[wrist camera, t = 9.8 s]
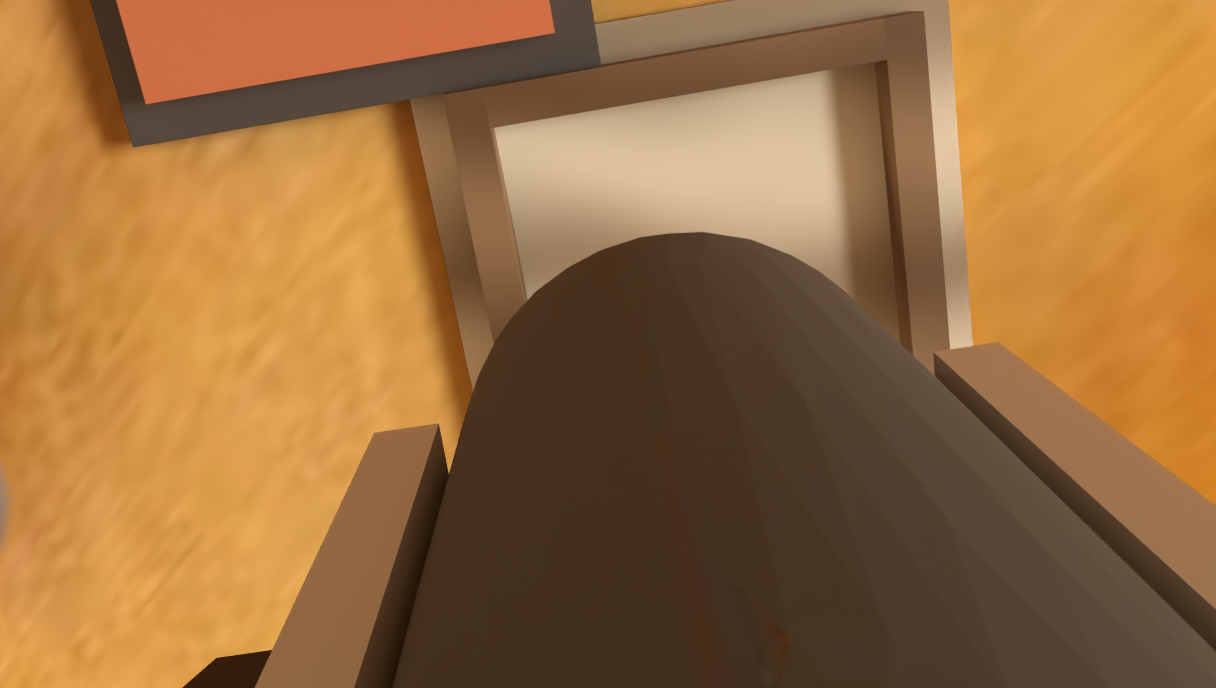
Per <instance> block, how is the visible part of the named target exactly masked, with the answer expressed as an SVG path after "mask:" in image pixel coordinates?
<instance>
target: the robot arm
mask: <svg viewBox="0 0 1216 688" xmlns="http://www.w3.org/2000/svg"><path fill="white" fill-rule="evenodd" d="M933 355H934V372H935V377H936V378H937V379H938V380H939V381H940V382H941V383H942V384H943V385H944V386H945V387H946V388H947V389H948V390H950V391H951V392H952V393H953V394H954V395H955V396H956V397H957V398H958V399H959V400H960V401H961V402H962V403H963V404H964V405H965V406H966V407H967V408H968V409H969V410H970V411H971V412H972V413H973V414H974V415H975V416H976V417H977V418H978V419H979V420H980V421H981V422H982V423H983V424H984V425H985V426H986V427H987V428H988V429H989V430H990V431H991V432H993V433H994V434H995V435H996V436H997V437H998V438H999V439H1000V440H1001V441H1002V442H1003V443H1004V444H1005V445H1006V446H1007V447H1008V448H1009V449H1010V450H1011V451H1012V452H1013V453H1014V454H1015V455H1016V456H1017V457H1018V458H1019V459H1020V460H1021V461H1022V462H1023V463H1024V464H1025V465H1026V466H1027V467H1028V468H1029V469H1030V470H1031V471H1032V472H1033V473H1034V474H1035V475H1037V476H1038V477H1039V478H1040V479H1041V480H1042V481H1043V482H1044V483H1045V484H1046V485H1047V486H1048V487H1049V488H1050V489H1051V490H1052V491H1053V492H1054V493H1055V494H1056V495H1057V496H1058V497H1059V498H1060V499H1061V500H1062V501H1063V502H1064V503H1065V504H1066V505H1067V506H1068V507H1069V508H1070V509H1071V510H1072V511H1073V512H1074V513H1075V514H1076V515H1077V516H1078V517H1080V518H1081V519H1082V520H1083V521H1084V522H1085V523H1086V524H1087V525H1088V526H1089V527H1090V528H1091V529H1092V530H1093V531H1094V532H1095V533H1096V534H1097V535H1098V536H1099V537H1100V538H1101V539H1102V540H1103V541H1104V542H1105V543H1106V544H1107V545H1108V546H1109V547H1110V548H1111V549H1112V550H1113V551H1114V552H1115V553H1116V554H1117V555H1118V556H1119V557H1120V558H1121V559H1122V560H1124V561H1125V562H1126V563H1127V564H1128V565H1129V566H1130V567H1131V568H1132V569H1133V570H1134V571H1135V572H1136V573H1137V574H1138V575H1139V576H1140V577H1141V578H1142V579H1143V580H1144V581H1145V582H1146V583H1147V584H1148V585H1149V586H1150V587H1151V588H1152V589H1153V590H1154V591H1155V592H1156V593H1157V594H1158V595H1159V596H1160V597H1161V598H1162V599H1163V600H1164V601H1165V602H1167V603H1168V604H1169V605H1170V606H1171V607H1172V608H1173V609H1174V610H1175V611H1176V612H1177V613H1178V614H1179V615H1180V616H1181V617H1182V618H1183V619H1184V620H1185V621H1186V622H1187V623H1188V624H1189V625H1190V626H1191V627H1192V628H1193V629H1194V630H1195V631H1196V632H1197V633H1198V634H1199V635H1200V636H1201V637H1202V638H1203V639H1204V640H1205V641H1206V642H1207V643H1208V644H1209V645H1210V646H1211V647H1212V648H1213V649H1214V650H1215V651H1216V506H1215V505H1214V504H1213V503H1211V502H1210V501H1209V500H1207V499H1206V498H1205V497H1203V496H1202V495H1201V494H1199V493H1198V492H1197V491H1195V490H1194V489H1193V488H1191V487H1190V486H1189V485H1187V484H1186V483H1185V482H1183V481H1182V480H1181V479H1179V478H1178V477H1177V476H1175V475H1174V474H1173V473H1171V472H1170V471H1169V470H1167V469H1166V468H1165V467H1163V466H1162V465H1161V464H1159V463H1158V462H1157V461H1155V460H1154V459H1153V458H1151V457H1150V456H1149V455H1147V454H1146V453H1145V452H1143V451H1142V450H1141V449H1139V448H1138V447H1137V446H1135V445H1134V444H1133V443H1131V442H1130V441H1129V440H1127V439H1126V438H1125V437H1123V436H1122V435H1121V434H1119V433H1118V432H1117V431H1115V430H1114V429H1113V428H1111V427H1110V426H1109V425H1107V424H1106V423H1105V422H1104V421H1102V420H1101V419H1100V418H1098V417H1097V416H1096V415H1094V414H1093V413H1092V412H1090V411H1089V410H1088V409H1086V408H1085V407H1084V406H1082V405H1081V404H1080V403H1078V402H1077V401H1076V400H1074V399H1073V398H1072V397H1070V396H1069V395H1068V394H1066V393H1065V392H1064V391H1062V390H1061V389H1060V388H1058V387H1057V386H1056V385H1054V384H1053V383H1052V382H1050V381H1049V380H1048V379H1046V378H1045V377H1044V376H1042V375H1041V374H1040V373H1038V372H1037V371H1036V370H1034V369H1033V368H1032V367H1030V366H1029V365H1028V364H1026V363H1025V362H1024V361H1022V360H1021V359H1020V358H1018V357H1017V356H1016V355H1014V354H1013V353H1012V352H1010V351H1009V350H1008V349H1006V348H1005V347H1004V346H1002V345H1001V344H1000V343H998V342H997V343H991V344H984V345H977V346H970V347H963V348H956V349H949V350H942V351H935V352H933ZM448 477H449V473H448V468H447V463H446V458H445V453H444V448H443V443H442V438H441V433H440V428H439V424H432V425H425V426H419V427H412V428H405V429H398V430H391V431H384V432H377V433H374V434H373V437H372V439H371V441H370V443H369V445H368V447H367V449H366V451H365V454H364V456H363V458H362V460H361V462H360V464H359V466H358V469H357V471H356V473H355V475H354V477H353V479H352V481H351V483H350V486H349V488H348V490H347V492H346V494H345V496H344V498H343V500H342V503H341V505H340V507H339V509H338V511H337V513H336V515H335V518H334V520H333V522H332V524H331V526H330V528H329V530H328V532H327V535H326V537H325V539H324V541H323V543H322V545H321V547H320V549H319V552H318V554H317V556H316V558H315V560H314V562H313V564H312V567H311V569H310V571H309V573H308V575H307V577H306V579H305V581H304V584H303V586H302V588H301V590H300V592H299V594H298V596H297V599H296V601H295V603H294V605H293V607H292V609H291V611H290V613H289V616H288V618H287V620H286V622H285V624H284V626H283V628H282V630H281V633H280V635H279V637H278V639H277V641H276V643H275V645H274V648H273V650H269V651H262V652H255V653H248V654H241V655H234V656H227V657H220V658H216V659H215V660H214V661H212V662H211V663H210V664H209V665H208V666H207V667H206V668H204V669H203V670H202V671H201V672H200V673H199V674H198V675H196V676H195V677H194V678H193V679H192V680H191V681H190V682H188V683H187V684H186V685H185V686H184V687H183V688H392V687H393V683H394V679H395V675H396V671H397V667H398V663H399V659H400V655H401V652H402V648H403V644H404V640H405V636H406V632H407V628H408V624H409V620H410V617H411V613H412V609H413V605H414V601H415V597H416V593H417V589H418V586H419V582H420V578H421V575H422V571H423V568H424V564H425V560H426V557H427V553H428V549H429V546H430V542H431V538H432V535H433V531H434V528H435V524H436V520H437V517H438V513H439V509H440V506H441V502H442V498H443V495H444V491H445V488H446V484H447V480H448Z"/></svg>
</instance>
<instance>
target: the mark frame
mask: <svg viewBox="0 0 1216 688" xmlns="http://www.w3.org/2000/svg"><path fill="white" fill-rule="evenodd" d="M595 29H596V36H597V42H598V48H599V54H600V60H601V66H599V67H593V68H588V69H582V70H576V71H570V72H565V73H559V74H553V75H547V76H542V77H536V78H530V79H524V80H519V81H513V82H507V83H501V84H495V85H490V86H484V87H478V88H472V89H467V90H461V91H455V92H449V93H444V94H438V95H432V96H426V97H421V98H415V99H410V103H411V108H412V112H413V117H414V122H415V126H416V131H417V136H418V140H419V145H420V149H421V154H422V159H423V163H424V168H425V173H426V177H427V182H428V186H429V191H430V196H431V200H432V205H433V210H434V214H435V219H436V224H437V228H438V233H439V237H440V242H441V247H442V251H443V256H444V261H445V265H446V270H447V274H448V279H449V284H450V288H451V293H452V298H453V302H454V307H455V311H456V316H457V321H458V325H459V330H460V335H461V339H462V344H463V348H464V353H465V358H466V362H467V367H468V372H469V376H470V381H471V385H472V390H474V387H475V384H476V381H477V378H478V375H479V373H480V371H481V369H482V367H483V365H484V363H485V361H486V359H487V357H488V355H489V353H490V351H491V349H492V347H493V345H494V343H495V341H496V339H497V338H498V336H499V335H500V333H501V332H502V331H503V329H504V328H505V326H506V325H507V323H508V322H509V321H510V319H511V318H512V316H513V315H514V314H515V313H516V312H517V311H518V310H519V309H520V308H521V307H522V306H523V305H524V304H525V302H526V301H527V300H528V299H529V298H530V297H531V296H532V295H533V294H534V293H535V292H536V291H537V290H538V289H540V288H541V287H542V286H544V285H545V284H546V283H548V282H549V281H550V280H552V279H553V278H554V277H556V276H557V275H558V274H560V273H561V272H562V271H564V270H565V269H567V268H568V267H570V266H572V265H574V264H576V263H577V262H579V261H581V260H583V259H585V258H587V257H589V256H590V255H592V254H594V253H596V252H598V251H600V250H603V249H605V248H608V247H611V246H615V245H618V244H621V243H624V242H627V241H630V240H633V239H636V238H639V237H646V236H653V235H661V234H668V233H689V232H707V233H713V234H720V235H726V236H733V237H739V238H746V239H751V240H754V241H756V242H759V243H762V244H764V245H767V246H769V247H772V248H774V249H777V250H780V251H782V252H785V253H787V254H790V255H792V256H794V257H796V258H797V259H799V260H801V261H802V262H804V263H806V264H808V265H809V266H811V267H813V268H814V269H816V270H818V271H819V272H821V273H822V274H823V275H825V276H826V277H827V278H829V279H830V280H831V281H832V282H834V283H835V284H836V285H838V286H839V287H840V288H842V289H843V290H844V291H845V292H846V293H847V294H848V295H849V296H850V297H851V298H852V299H853V300H854V301H856V302H857V303H858V304H859V305H860V306H861V307H862V308H863V309H864V310H865V311H866V312H867V313H868V314H869V315H870V316H872V317H873V318H874V319H875V320H876V321H877V322H878V323H879V324H880V325H881V326H882V327H883V328H884V329H885V330H886V331H887V332H889V333H890V334H891V335H892V336H893V337H894V338H895V339H896V340H897V341H898V342H899V343H900V344H901V345H902V346H903V347H904V348H906V349H907V350H908V351H909V352H910V353H911V354H912V355H913V356H914V357H915V358H916V359H917V360H918V361H919V362H920V363H922V364H923V365H924V366H925V367H926V368H927V369H928V370H929V371H930V372H931V373H932V374H933V375H934V376H935V372H934V355H933V352H935V351H942V350H949V349H956V348H963V347H970V346H973V343H972V328H971V314H970V300H969V286H968V272H967V258H966V244H965V230H964V216H963V202H962V188H961V173H960V159H959V145H958V131H957V117H956V103H955V89H954V75H953V61H952V47H951V33H950V18H949V4H948V0H731V1H726V2H720V3H714V4H708V5H703V6H697V7H691V8H685V9H680V10H674V11H668V12H662V13H657V14H651V15H645V16H639V17H634V18H628V19H622V20H617V21H611V22H605V23H599V24H595Z"/></svg>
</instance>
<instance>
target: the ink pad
mask: <svg viewBox="0 0 1216 688" xmlns="http://www.w3.org/2000/svg"><path fill="white" fill-rule="evenodd" d="M90 2H91V5H92V9H93V12H94V16H95V19H96V23H97V26H98V29H99V33H100V36H101V40H102V43H103V46H104V50H105V53H106V57H107V60H108V63H109V67H110V70H111V74H112V77H113V80H114V84H115V87H116V91H117V94H118V97H119V101H120V104H121V108H122V111H123V115H124V118H125V121H126V125H127V128H128V132H129V135H130V138H131V142H132V145H133V147H138V146H144V145H150V144H156V143H161V142H167V141H173V140H179V139H184V138H190V137H196V136H202V135H207V134H213V133H219V132H225V131H231V130H236V129H242V128H248V127H254V126H259V125H265V124H271V123H277V122H282V121H288V120H294V119H300V118H305V117H311V116H317V115H323V114H328V113H334V112H340V111H346V110H351V109H357V108H363V107H369V106H375V105H380V104H386V103H392V102H398V101H403V100H409V99H415V98H421V97H426V96H432V95H438V94H444V93H449V92H455V91H461V90H467V89H472V88H478V87H484V86H490V85H495V84H501V83H507V82H513V81H519V80H524V79H530V78H536V77H542V76H547V75H553V74H559V73H565V72H570V71H576V70H582V69H588V68H593V67H599V66H601V60H600V54H599V48H598V42H597V36H596V29H595V23H594V17H593V11H592V5H591V0H90Z"/></svg>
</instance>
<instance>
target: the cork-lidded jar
mask: <svg viewBox="0 0 1216 688" xmlns="http://www.w3.org/2000/svg"><path fill="white" fill-rule="evenodd" d="M392 688H1216V651H1215V650H1214V649H1213V648H1212V647H1211V646H1210V645H1209V644H1208V643H1207V642H1206V641H1205V640H1204V639H1203V638H1202V637H1201V636H1200V635H1199V634H1198V633H1197V632H1196V631H1195V630H1194V629H1193V628H1192V627H1191V626H1190V625H1189V624H1188V623H1187V622H1186V621H1185V620H1184V619H1183V618H1182V617H1181V616H1180V615H1179V614H1178V613H1177V612H1176V611H1175V610H1174V609H1173V608H1172V607H1171V606H1170V605H1169V604H1168V603H1167V602H1165V601H1164V600H1163V599H1162V598H1161V597H1160V596H1159V595H1158V594H1157V593H1156V592H1155V591H1154V590H1153V589H1152V588H1151V587H1150V586H1149V585H1148V584H1147V583H1146V582H1145V581H1144V580H1143V579H1142V578H1141V577H1140V576H1139V575H1138V574H1137V573H1136V572H1135V571H1134V570H1133V569H1132V568H1131V567H1130V566H1129V565H1128V564H1127V563H1126V562H1125V561H1124V560H1122V559H1121V558H1120V557H1119V556H1118V555H1117V554H1116V553H1115V552H1114V551H1113V550H1112V549H1111V548H1110V547H1109V546H1108V545H1107V544H1106V543H1105V542H1104V541H1103V540H1102V539H1101V538H1100V537H1099V536H1098V535H1097V534H1096V533H1095V532H1094V531H1093V530H1092V529H1091V528H1090V527H1089V526H1088V525H1087V524H1086V523H1085V522H1084V521H1083V520H1082V519H1081V518H1080V517H1078V516H1077V515H1076V514H1075V513H1074V512H1073V511H1072V510H1071V509H1070V508H1069V507H1068V506H1067V505H1066V504H1065V503H1064V502H1063V501H1062V500H1061V499H1060V498H1059V497H1058V496H1057V495H1056V494H1055V493H1054V492H1053V491H1052V490H1051V489H1050V488H1049V487H1048V486H1047V485H1046V484H1045V483H1044V482H1043V481H1042V480H1041V479H1040V478H1039V477H1038V476H1037V475H1035V474H1034V473H1033V472H1032V471H1031V470H1030V469H1029V468H1028V467H1027V466H1026V465H1025V464H1024V463H1023V462H1022V461H1021V460H1020V459H1019V458H1018V457H1017V456H1016V455H1015V454H1014V453H1013V452H1012V451H1011V450H1010V449H1009V448H1008V447H1007V446H1006V445H1005V444H1004V443H1003V442H1002V441H1001V440H1000V439H999V438H998V437H997V436H996V435H995V434H994V433H993V432H991V431H990V430H989V429H988V428H987V427H986V426H985V425H984V424H983V423H982V422H981V421H980V420H979V419H978V418H977V417H976V416H975V415H974V414H973V413H972V412H971V411H970V410H969V409H968V408H967V407H966V406H965V405H964V404H963V403H962V402H961V401H960V400H959V399H958V398H957V397H956V396H955V395H954V394H953V393H952V392H951V391H950V390H948V389H947V388H946V387H945V386H944V385H943V384H942V383H941V382H940V381H939V380H938V379H937V378H936V377H935V376H934V375H933V374H932V373H931V372H930V371H929V370H928V369H927V368H926V367H925V366H924V365H923V364H922V363H920V362H919V361H918V360H917V359H916V358H915V357H914V356H913V355H912V354H911V353H910V352H909V351H908V350H907V349H906V348H904V347H903V346H902V345H901V344H900V343H899V342H898V341H897V340H896V339H895V338H894V337H893V336H892V335H891V334H890V333H889V332H887V331H886V330H885V329H884V328H883V327H882V326H881V325H880V324H879V323H878V322H877V321H876V320H875V319H874V318H873V317H872V316H870V315H869V314H868V313H867V312H866V311H865V310H864V309H863V308H862V307H861V306H860V305H859V304H858V303H857V302H856V301H854V300H853V299H852V298H851V297H850V296H849V295H848V294H847V293H846V292H845V291H844V290H843V289H842V288H840V287H839V286H838V285H836V284H835V283H834V282H832V281H831V280H830V279H829V278H827V277H826V276H825V275H823V274H822V273H821V272H819V271H818V270H816V269H814V268H813V267H811V266H809V265H808V264H806V263H804V262H802V261H801V260H799V259H797V258H796V257H794V256H792V255H790V254H787V253H785V252H782V251H780V250H777V249H774V248H772V247H769V246H767V245H764V244H762V243H759V242H756V241H754V240H751V239H746V238H739V237H733V236H726V235H720V234H713V233H707V232H689V233H668V234H661V235H653V236H646V237H639V238H636V239H633V240H630V241H627V242H624V243H621V244H618V245H615V246H611V247H608V248H605V249H603V250H600V251H598V252H596V253H594V254H592V255H590V256H589V257H587V258H585V259H583V260H581V261H579V262H577V263H576V264H574V265H572V266H570V267H568V268H567V269H565V270H564V271H562V272H561V273H560V274H558V275H557V276H556V277H554V278H553V279H552V280H550V281H549V282H548V283H546V284H545V285H544V286H542V287H541V288H540V289H538V290H537V291H536V292H535V293H534V294H533V295H532V296H531V297H530V298H529V299H528V300H527V301H526V302H525V304H524V305H523V306H522V307H521V308H520V309H519V310H518V311H517V312H516V313H515V314H514V315H513V316H512V318H511V319H510V321H509V322H508V323H507V325H506V326H505V328H504V329H503V331H502V332H501V333H500V335H499V336H498V338H497V339H496V341H495V343H494V345H493V347H492V349H491V351H490V353H489V355H488V357H487V359H486V361H485V363H484V365H483V367H482V369H481V371H480V373H479V375H478V378H477V381H476V384H475V387H474V390H473V394H472V397H471V400H470V403H469V406H468V409H467V413H466V416H465V419H464V422H463V426H462V429H461V433H460V437H459V440H458V444H457V448H456V451H455V455H454V458H453V462H452V466H451V469H450V473H449V477H448V480H447V484H446V488H445V491H444V495H443V498H442V502H441V506H440V509H439V513H438V517H437V520H436V524H435V528H434V531H433V535H432V538H431V542H430V546H429V549H428V553H427V557H426V560H425V564H424V568H423V571H422V575H421V578H420V582H419V586H418V589H417V593H416V597H415V601H414V605H413V609H412V613H411V617H410V620H409V624H408V628H407V632H406V636H405V640H404V644H403V648H402V652H401V655H400V659H399V663H398V667H397V671H396V675H395V679H394V683H393V687H392Z"/></svg>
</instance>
